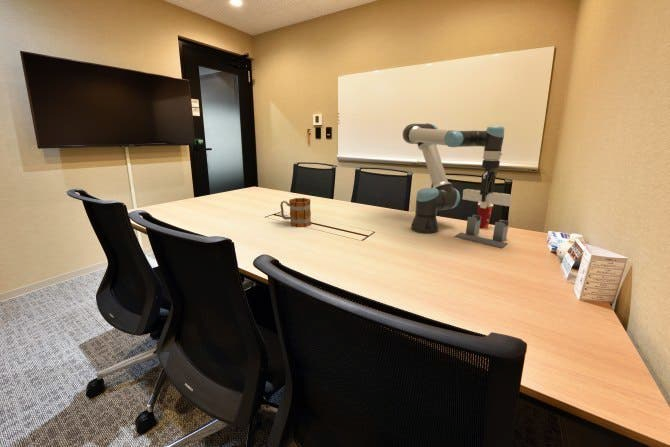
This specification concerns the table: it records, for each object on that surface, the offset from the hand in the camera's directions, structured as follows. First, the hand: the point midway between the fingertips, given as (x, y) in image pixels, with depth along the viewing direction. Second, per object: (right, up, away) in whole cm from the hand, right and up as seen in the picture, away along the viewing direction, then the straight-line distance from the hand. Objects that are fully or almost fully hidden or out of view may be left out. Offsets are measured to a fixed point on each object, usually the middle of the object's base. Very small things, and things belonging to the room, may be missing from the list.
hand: (484, 206), depth 157 cm
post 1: (0, -14, +15) cm, 21 cm away
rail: (0, +2, -1) cm, 3 cm away
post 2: (+10, -17, +6) cm, 21 cm away
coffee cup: (+12, -11, +27) cm, 32 cm away
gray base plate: (0, -17, +5) cm, 18 cm away
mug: (-99, -9, +35) cm, 106 cm away
